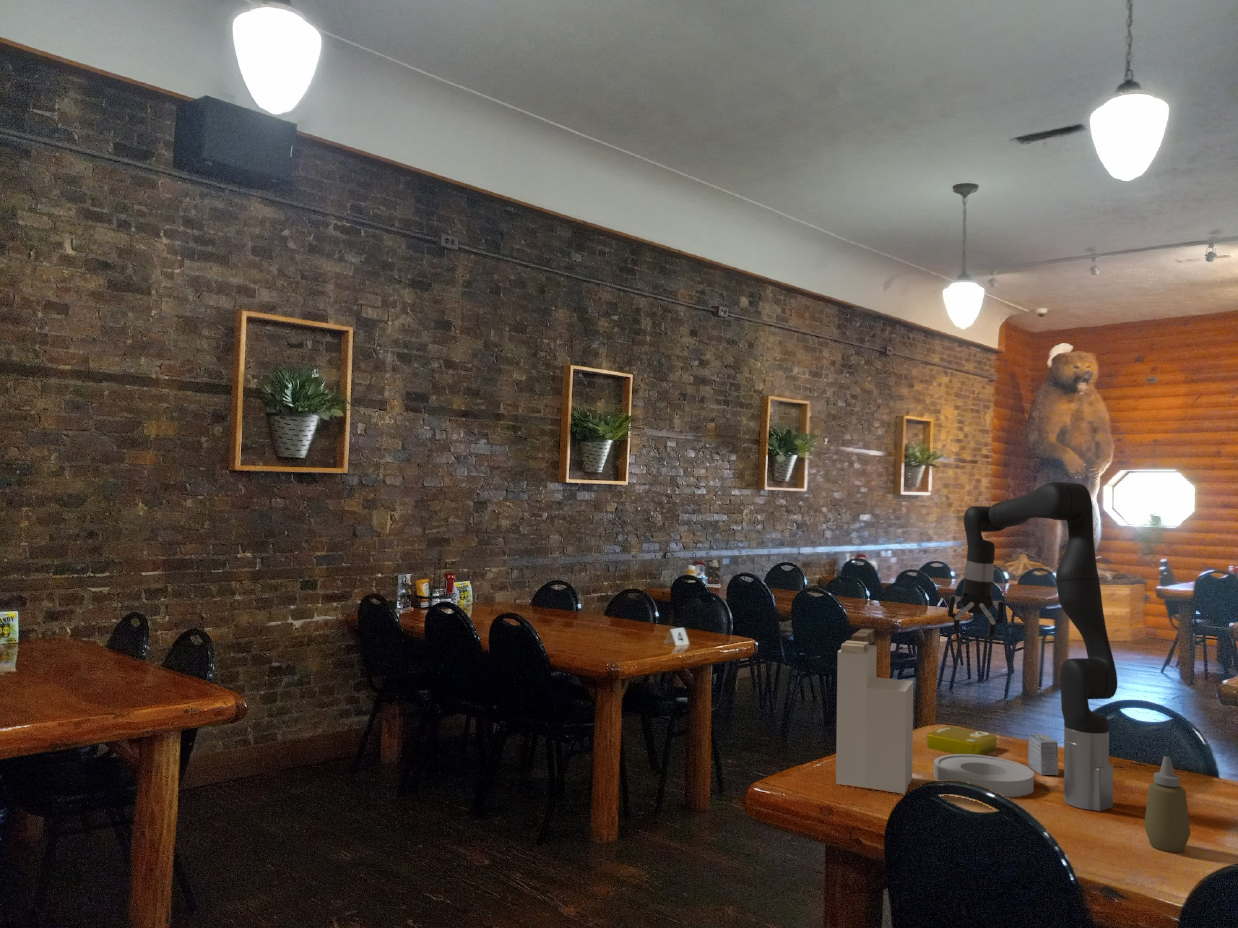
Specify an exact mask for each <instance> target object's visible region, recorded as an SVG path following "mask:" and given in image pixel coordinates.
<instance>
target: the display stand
mask: <svg viewBox="0 0 1238 928" xmlns="http://www.w3.org/2000/svg"><path fill="white" fill-rule="evenodd" d="M877 653H878V651H877V645H873V644H870V645H869V646H868V650H867V651H866V652H865V653H864V654H857V653H845V652H841V648H840V649H838V650H837V659H836V660H837V661H836V662H837V663H836V664H837V665H836V667H837V669H836V670H837V671H836V673H837V674H836V675H837V676H836V677H837V679H836V681H837V682H836V688H837V689H836V743H835V744H836V748H835V749H836V754H835V755H836V758H835V759H836V761H835V785H836V784H842V785H852V786H857V787H865V788H873V789H878V790H885V791H889V792H897V793H901V794H900V795H902V793H903V796H905V795H906V794H905V793H907V791H908V789H909V787H908V785H909V784H910V785H911V782H912V780H913V761H914V760H913V759H914V758H913V756H914V755H913V753H914V751H913V750H914V749H913V746H914V745H913V743H914V740H913V739H914V680H909V679H908V680H906V679H896V678H886V677H877V662H878V661H877ZM911 779H912V780H911ZM910 781H911V782H910ZM910 785H909V786H910ZM907 788H908V789H907Z"/></svg>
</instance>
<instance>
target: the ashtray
mask: <svg viewBox="0 0 1238 928" xmlns="http://www.w3.org/2000/svg"><path fill="white" fill-rule="evenodd" d="M934 777H935V778H936V779H937V780H956V781H961V782H969V783H970V784H974V785H979V786H981V787H985V788H988V789H990V790H992V791H993V792H997V793H1001V795H1004V796H1006V797H1005V798H1018V797H1023V795H1024V796H1028V795H1030V794H1032V793H1034V791H1035V789H1034V785H1035V783H1034V782H1035V779H1036V777H1035V771H1034V770H1033V769H1031V768H1030V767H1029V766H1028V765H1024V764H1022V763H1019V762H1017V761H1013V760H1010V759H1005V758H1001V757H996V756H990V755H985V756H984V755H973V754H947V755H941V756H938V757H936V758H935V759H934V760H933V778H934Z"/></svg>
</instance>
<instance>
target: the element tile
mask: <svg viewBox="0 0 1238 928" xmlns="http://www.w3.org/2000/svg"><path fill="white" fill-rule="evenodd" d="M926 735H927V736H926V747H927V748H928V749H929V750H933V751H938V752H944V753H946V754H947V753H948V754H951V755H953V754H973V755H984V756H988V755H989V754H991V753H993V752H996V751H997V735H996V734H994V733H989V732H986V731H979V730H972V729H968V728H963V727H957V726H952V725H947V726H944V727H940V728H938V729H935V730H932V731H931V732H928V733H927V734H926ZM927 748H926V749H927Z"/></svg>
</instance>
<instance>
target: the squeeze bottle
mask: <svg viewBox="0 0 1238 928" xmlns="http://www.w3.org/2000/svg"><path fill="white" fill-rule="evenodd" d="M1162 758H1163V759H1162V763H1161V766H1160V769H1159V771H1157V772H1154V773H1153V782H1152V783H1150V784H1148V790H1147V791H1148V792H1147V798H1146V799H1147V800H1146V807H1145V816H1144V826H1143V827H1144V829H1145V830H1144V831H1145V832H1146V836H1147V838H1148V841H1149V844H1150V845H1151V847H1154V848H1155V849H1157V850H1161V851H1165V852H1170V853H1173V852H1174V853H1181V852H1184V851H1185V849H1186V846H1187V844H1188V842H1189V838H1190V837H1191V828H1190V827H1191V826H1190V820H1189V817H1190V816H1189V808H1188V800H1187V792H1186V790H1185V789H1184V788H1183V787H1181V777H1180V776H1179V775H1177V774H1175V773H1174V772H1175V771H1174V767H1173V765H1172V764H1173V763H1172V760H1171V757H1170V756H1165V755H1164V756H1163V757H1162Z"/></svg>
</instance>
